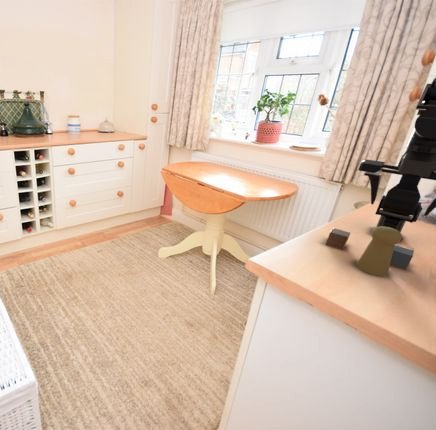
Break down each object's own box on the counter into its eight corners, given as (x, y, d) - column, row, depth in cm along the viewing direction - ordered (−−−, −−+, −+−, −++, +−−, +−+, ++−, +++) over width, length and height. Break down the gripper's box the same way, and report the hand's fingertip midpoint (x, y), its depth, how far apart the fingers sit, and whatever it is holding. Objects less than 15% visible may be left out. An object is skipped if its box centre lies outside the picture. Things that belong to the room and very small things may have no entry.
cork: (375, 263, 74) (392, 224, 70) (394, 276, 69) (414, 235, 64) (350, 261, 75) (366, 222, 70) (366, 274, 69) (384, 233, 65)
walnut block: (329, 240, 85) (333, 227, 84) (345, 245, 83) (350, 232, 81) (325, 244, 83) (330, 231, 81) (342, 249, 80) (347, 236, 79)
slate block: (386, 257, 77) (393, 244, 75) (407, 264, 74) (414, 250, 73) (385, 263, 74) (391, 249, 73) (406, 269, 72) (413, 255, 70)
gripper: (368, 133, 63) (342, 201, 68) (503, 145, 51) (460, 228, 56) (373, 136, 71) (350, 198, 76) (492, 147, 59) (455, 220, 63)
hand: (397, 209), depth 67 cm, fingers open, 9 cm apart
